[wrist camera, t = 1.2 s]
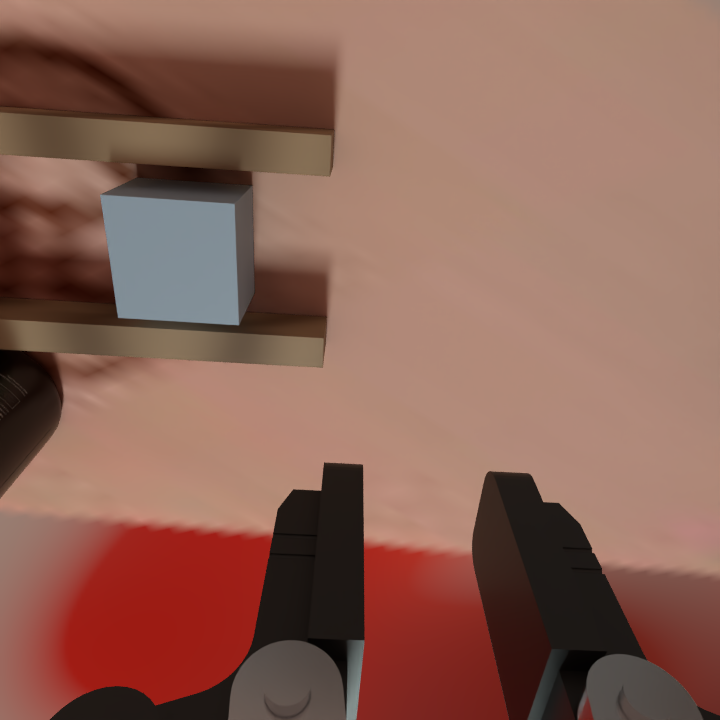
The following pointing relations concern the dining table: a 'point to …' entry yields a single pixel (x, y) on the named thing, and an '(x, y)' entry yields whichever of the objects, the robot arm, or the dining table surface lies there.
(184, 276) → the block
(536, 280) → the dining table surface
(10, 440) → the supplement bottle
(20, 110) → the track
